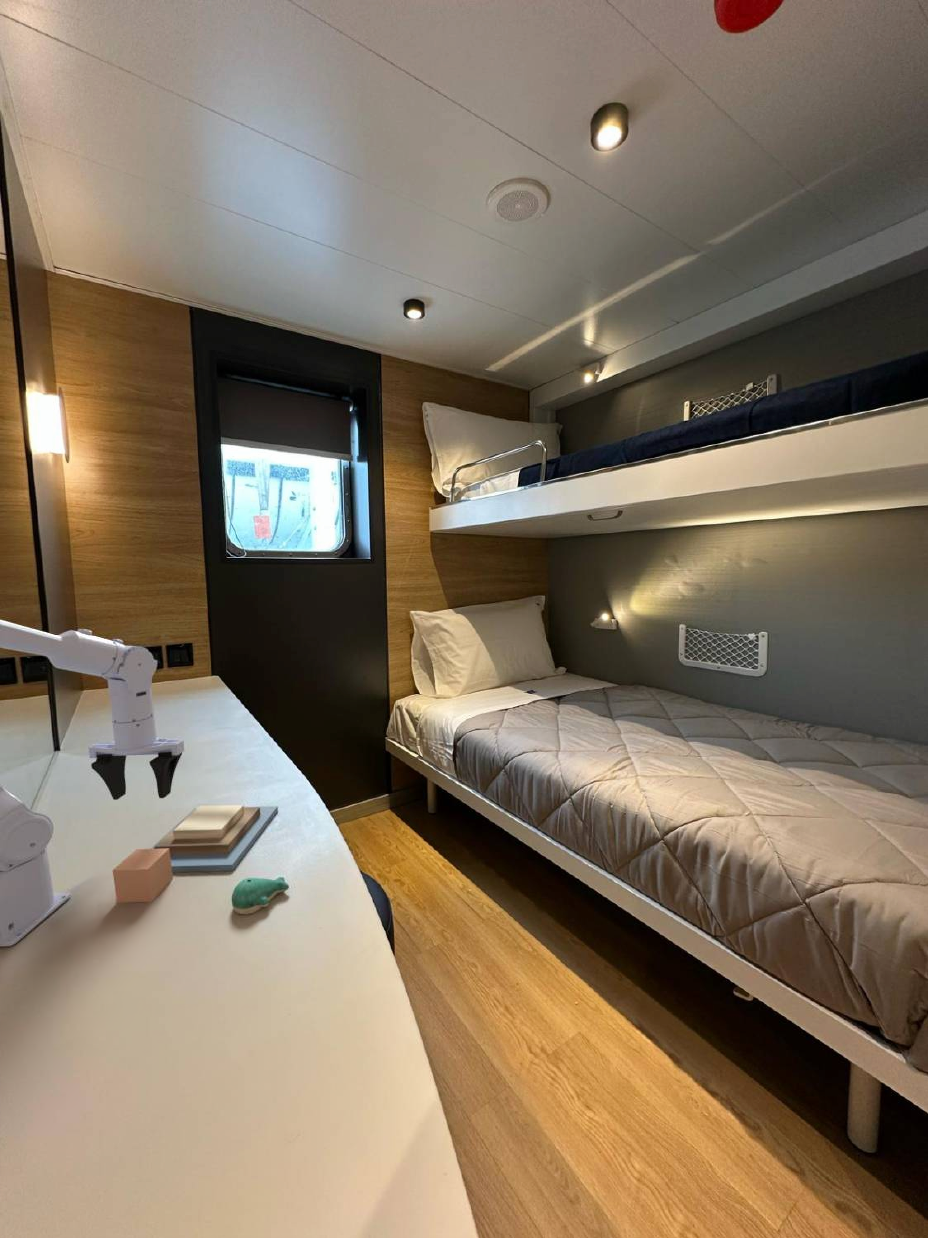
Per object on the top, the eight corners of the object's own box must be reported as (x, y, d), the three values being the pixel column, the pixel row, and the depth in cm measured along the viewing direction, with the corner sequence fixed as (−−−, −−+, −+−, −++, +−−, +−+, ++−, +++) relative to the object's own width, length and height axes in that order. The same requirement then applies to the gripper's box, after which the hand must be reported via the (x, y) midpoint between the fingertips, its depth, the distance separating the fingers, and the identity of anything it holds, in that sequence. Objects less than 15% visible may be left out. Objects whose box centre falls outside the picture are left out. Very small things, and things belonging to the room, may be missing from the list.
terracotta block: (151, 902, 69) (147, 869, 69) (116, 903, 69) (112, 870, 69) (172, 879, 74) (169, 848, 74) (140, 880, 74) (136, 849, 74)
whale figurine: (228, 902, 69) (226, 876, 68) (281, 880, 73) (279, 856, 73) (238, 925, 64) (235, 899, 64) (294, 901, 69) (291, 876, 68)
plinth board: (232, 870, 76) (230, 846, 75) (130, 873, 76) (127, 849, 75) (277, 811, 93) (276, 791, 93) (195, 813, 94) (193, 793, 93)
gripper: (191, 709, 84) (198, 784, 86) (106, 711, 84) (115, 786, 86) (166, 722, 77) (175, 803, 79) (74, 725, 77) (85, 806, 79)
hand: (142, 796), depth 82 cm, fingers open, 7 cm apart
